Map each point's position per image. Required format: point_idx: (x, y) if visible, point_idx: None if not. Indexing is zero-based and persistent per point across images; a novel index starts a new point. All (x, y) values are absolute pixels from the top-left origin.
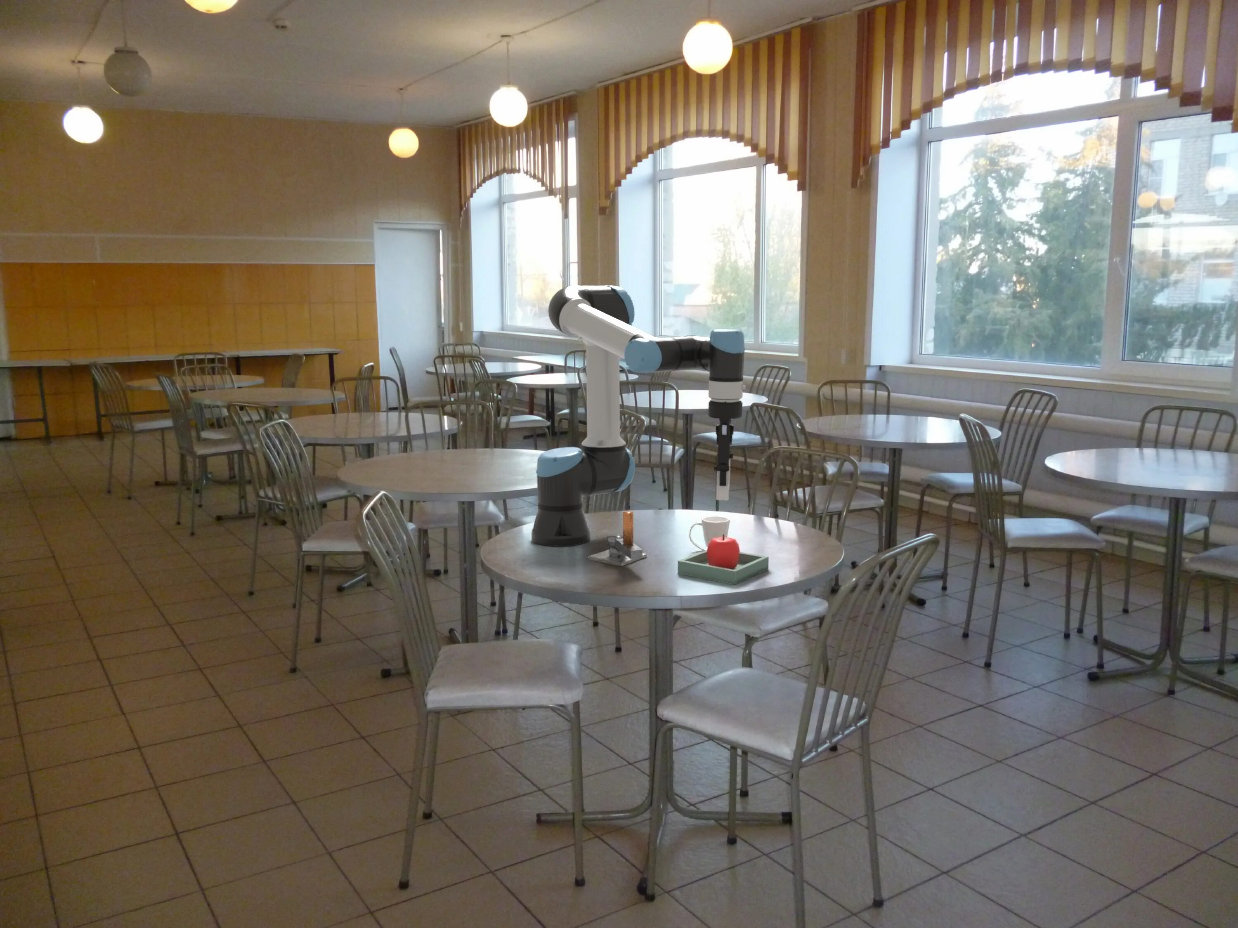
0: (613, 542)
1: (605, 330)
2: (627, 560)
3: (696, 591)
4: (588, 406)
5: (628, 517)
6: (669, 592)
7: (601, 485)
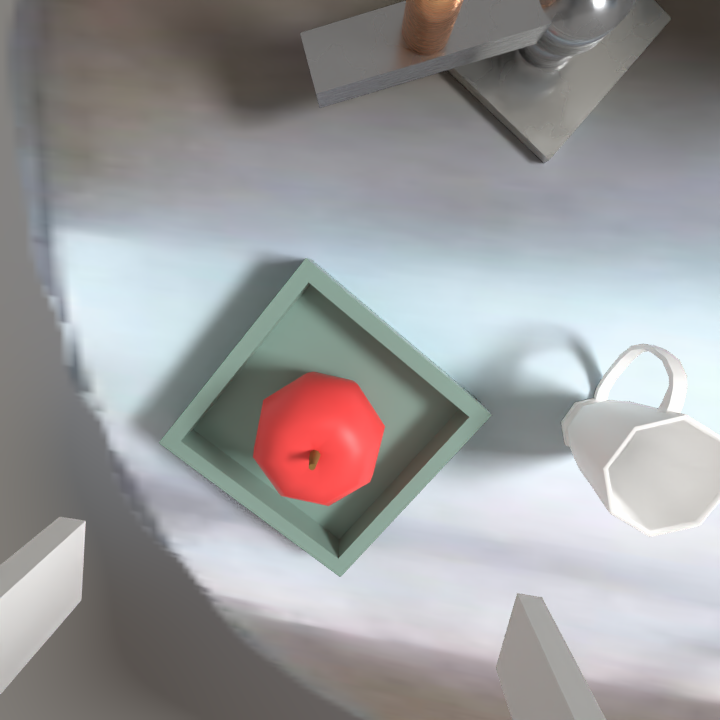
0: None
1: None
2: (460, 69)
3: (103, 298)
4: None
5: None
6: (87, 206)
7: None
